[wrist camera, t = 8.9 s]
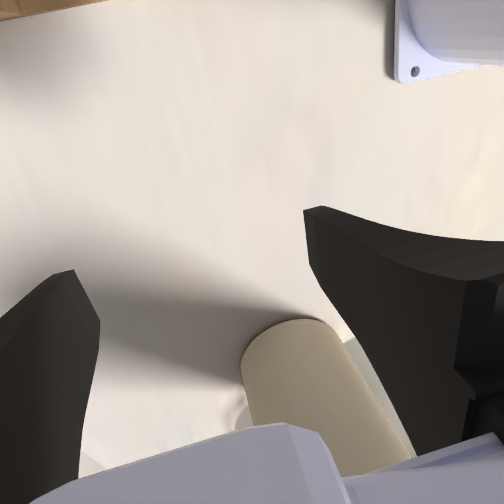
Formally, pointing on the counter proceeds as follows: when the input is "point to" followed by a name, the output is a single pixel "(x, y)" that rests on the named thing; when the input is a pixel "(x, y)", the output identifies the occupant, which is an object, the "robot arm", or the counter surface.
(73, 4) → the slot block
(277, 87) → the counter surface
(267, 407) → the travel mug
